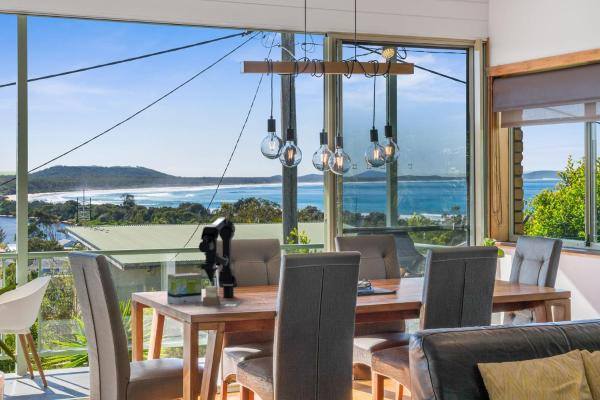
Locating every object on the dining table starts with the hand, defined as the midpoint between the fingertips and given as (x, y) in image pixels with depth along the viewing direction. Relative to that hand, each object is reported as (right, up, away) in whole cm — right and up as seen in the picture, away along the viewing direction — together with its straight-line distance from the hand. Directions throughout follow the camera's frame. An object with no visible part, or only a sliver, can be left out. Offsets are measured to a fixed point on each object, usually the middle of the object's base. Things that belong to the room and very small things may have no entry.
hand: (211, 282), depth 423 cm
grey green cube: (0, -7, 0) cm, 7 cm away
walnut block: (0, -11, 0) cm, 11 cm away
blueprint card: (+10, -11, -2) cm, 15 cm away
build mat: (+3, -12, +3) cm, 13 cm away
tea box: (-15, -12, +13) cm, 23 cm away
